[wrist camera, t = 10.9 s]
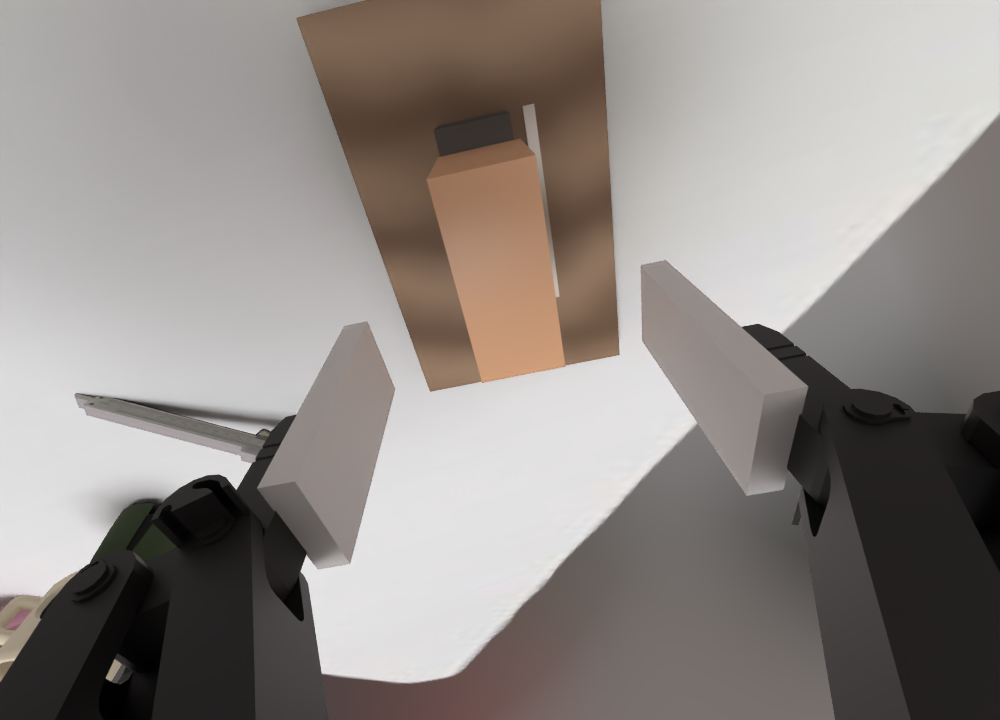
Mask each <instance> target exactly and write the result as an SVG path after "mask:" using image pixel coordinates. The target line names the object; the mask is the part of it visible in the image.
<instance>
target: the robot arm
mask: <svg viewBox="0 0 1000 720" xmlns="http://www.w3.org/2000/svg"><path fill="white" fill-rule="evenodd" d="M641 302H642V341H643V343H644V344H645V346H646V347H647V349H648V350H649V352H650V353H651V355H652V356H653V358H654V359H655V360H656V362H657V363H658V365H659V366H660V368H661V369H662V371H663V372H664V374H665V375H666V377H667V378H668V380H669V381H670V383H671V384H672V386H673V387H674V389H675V390H676V392H677V393H678V395H679V396H680V398H681V399H682V401H683V402H684V403H685V405H686V406H687V408H688V409H689V411H690V412H691V414H692V415H693V417H694V418H695V420H696V421H697V423H698V424H699V426H700V427H701V429H702V430H703V432H704V433H705V435H706V436H707V438H708V439H709V440H710V442H711V444H712V445H713V446H714V448H715V449H716V451H717V452H718V454H719V455H720V457H721V458H722V460H723V461H724V463H725V464H726V466H727V467H728V469H729V470H730V471H731V473H732V474H733V476H734V478H735V479H736V481H737V482H738V484H739V485H740V487H741V488H742V489H743V491H744V492H745V494H746V495H747V496H748V495H754V494H760V493H766V492H772V491H777V490H782V489H784V485H785V481H786V477H787V473H788V470H789V471H790V472H791V473H792V475H793V476H794V477H795V478H796V480H797V481H798V482H799V483H800V484H801V489H800V492H799V496H798V499H797V503H796V507H795V510H794V514H793V520H792V524H793V525H798V524H799V521H800V518H801V519H802V525H803V531H804V537H805V542H806V549H807V554H808V561H809V566H810V573H811V579H812V585H813V591H814V596H815V602H816V608H817V614H818V620H819V626H820V631H821V638H822V644H823V650H824V656H825V661H826V668H827V673H828V680H829V685H830V692H831V698H832V703H833V709H834V715H835V720H1000V391H997V392H990V393H984V394H982V395H980V396H979V397H977V398H976V399H974V400H973V402H972V404H971V406H970V408H969V410H968V412H967V414H948V413H920V412H915V411H914V410H913V409H912V408H911V407H910V406H909V405H907V404H905V403H904V402H902V401H900V400H899V399H897V398H895V397H892V396H889V395H886V394H884V393H881V392H876V391H870V390H864V389H850V388H849V387H848V386H846V385H845V384H844V383H843V382H841V381H840V380H839V379H838V378H836V377H835V376H834V375H832V374H831V373H830V372H829V371H827V370H826V369H825V368H824V367H822V366H821V365H820V364H819V363H817V362H816V361H815V360H814V359H812V358H811V357H810V356H806V353H805V352H804V351H802V350H801V349H800V348H798V347H797V346H794V344H793V343H792V342H791V341H789V340H788V339H787V338H786V337H784V336H783V335H782V334H781V333H780V332H778V331H775V330H772V329H770V328H767V327H765V326H762V325H760V324H755V325H749V326H744V327H741V326H739V325H738V324H737V323H736V322H735V321H734V320H733V319H731V318H730V317H729V316H728V315H727V314H726V313H725V312H724V311H722V310H721V309H720V308H719V307H718V306H717V305H716V304H715V303H713V302H712V301H711V300H710V299H709V298H708V297H707V296H706V295H704V294H703V293H702V292H701V291H700V290H699V289H698V288H696V287H695V286H694V285H693V284H692V283H691V282H690V281H689V280H687V279H686V278H685V277H684V276H683V275H682V274H681V273H680V272H678V271H677V270H676V269H675V268H674V267H673V266H672V265H671V264H669V263H668V262H667V261H666V260H664V261H659V262H654V263H649V264H645V265H641ZM394 391H395V387H394V385H393V383H392V380H391V378H390V375H389V373H388V371H387V368H386V366H385V363H384V361H383V358H382V356H381V354H380V351H379V349H378V346H377V344H376V341H375V339H374V337H373V334H372V332H371V329H370V327H369V324H368V322H362V323H358V324H353V325H348V326H344V328H343V330H342V332H341V333H340V335H339V337H338V339H337V341H336V343H335V345H334V346H333V348H332V350H331V352H330V354H329V356H328V358H327V359H326V361H325V363H324V365H323V367H322V369H321V371H320V372H319V374H318V376H317V378H316V380H315V382H314V384H313V385H312V387H311V389H310V391H309V393H308V395H307V397H306V398H305V400H304V402H303V404H302V406H301V408H300V409H299V411H298V413H297V415H293V416H288V417H286V418H284V419H283V420H282V421H281V422H280V423H279V424H278V425H277V426H276V427H275V428H274V429H273V430H272V431H271V432H270V434H269V436H268V438H267V439H266V441H265V443H264V444H263V446H262V447H263V449H260V451H259V453H258V455H257V456H256V458H255V462H253V463H252V465H251V466H250V468H249V470H248V472H247V473H246V475H245V477H244V478H243V480H242V482H241V483H240V485H239V487H238V489H237V490H235V488H234V487H233V486H232V485H231V483H230V482H229V481H228V479H227V478H226V477H223V476H221V475H208V476H205V477H202V478H199V479H196V480H193V481H192V482H190V483H188V484H186V485H184V486H183V487H181V488H179V489H178V490H177V491H175V492H174V493H173V494H172V495H170V496H169V497H168V498H167V499H166V500H165V501H164V502H163V503H162V504H161V505H160V506H159V507H158V509H157V510H156V511H155V513H154V515H153V518H152V520H151V522H152V523H153V524H154V525H155V526H156V527H157V528H158V529H159V530H160V531H161V532H162V533H163V534H164V535H165V536H166V537H167V538H168V539H169V540H170V541H171V542H172V543H173V544H174V545H175V546H176V547H177V548H174V549H172V550H170V551H168V552H165V553H163V554H161V555H158V556H156V557H154V558H151V559H149V560H147V561H143V560H142V559H141V558H140V557H139V556H138V555H137V554H135V553H134V552H133V551H129V550H126V549H124V550H119V551H113V552H111V553H109V554H107V555H104V556H102V557H100V558H98V559H96V560H94V561H93V562H91V563H90V564H89V565H86V566H85V567H84V568H82V569H81V570H80V571H79V572H78V573H77V574H76V575H75V576H74V577H72V578H71V579H70V580H69V581H68V582H67V583H66V584H65V586H64V587H63V588H62V589H61V591H60V592H59V593H58V594H57V595H56V597H55V599H54V600H53V602H52V603H51V605H50V606H49V608H48V609H47V611H46V612H45V614H44V616H43V617H42V619H41V620H40V622H39V623H38V625H37V626H36V628H35V629H34V631H33V633H32V634H31V636H30V637H29V639H28V640H27V642H26V643H25V645H24V646H23V648H22V649H21V651H20V653H19V654H18V656H17V657H16V659H15V660H14V662H13V663H12V665H11V666H10V668H9V670H8V671H7V673H6V674H5V676H4V677H3V679H2V680H1V682H0V720H328V714H327V707H326V701H325V694H324V687H323V681H322V674H321V667H320V661H319V654H318V647H317V641H316V634H315V627H314V621H313V614H312V607H311V601H310V594H309V588H308V583H307V581H306V579H305V577H304V575H303V574H302V573H301V572H300V571H301V568H302V565H303V562H304V560H305V557H306V555H307V556H308V557H309V559H310V560H311V561H312V563H313V564H314V565H315V567H316V568H317V569H323V568H328V567H334V566H340V565H346V564H350V562H351V558H352V555H353V551H354V547H355V543H356V539H357V535H358V531H359V527H360V524H361V520H362V516H363V512H364V508H365V504H366V500H367V496H368V492H369V489H370V485H371V481H372V477H373V473H374V469H375V465H376V461H377V457H378V454H379V450H380V446H381V442H382V438H383V434H384V430H385V426H386V423H387V419H388V415H389V411H390V407H391V403H392V399H393V395H394ZM114 659H115V660H117V661H118V662H120V663H121V664H123V665H124V666H126V668H125V670H124V673H123V675H122V677H121V678H120V680H119V681H118V683H117V684H116V683H112V682H111V681H109V680H108V679H106V677H107V674H108V672H109V670H110V668H111V666H112V664H113V661H114Z"/></svg>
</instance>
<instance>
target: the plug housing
mask: <svg viewBox="0 0 1000 720" xmlns="http://www.w3.org/2000/svg"><path fill="white" fill-rule="evenodd" d="M427 183H428V187H429V191H430V194H431V198H432V201H433V205H434V209H435V212H436V216H437V220H438V223H439V227H440V231H441V234H442V238H443V242H444V245H445V249H446V253H447V256H448V260H449V264H450V267H451V271H452V275H453V278H454V282H455V286H456V289H457V293H458V297H459V300H460V304H461V308H462V311H463V315H464V319H465V322H466V326H467V330H468V333H469V337H470V341H471V344H472V348H473V352H474V355H475V359H476V362H477V366H478V370H479V373H480V377H481V381H482V383H483V382H489V381H494V380H499V379H504V378H509V377H514V376H519V375H525V374H530V373H535V372H540V371H545V370H550V369H555V368H561V367H565V361H564V353H563V346H562V339H561V332H560V325H559V317H558V310H557V303H556V296H555V289H554V281H553V274H552V267H551V260H550V253H549V245H548V238H547V231H546V224H545V217H544V209H543V202H542V195H541V188H540V181H539V173H538V166H537V159H536V155H535V154H534V152H533V151H532V150H531V149H530V148H529V147H528V146H527V145H526V144H525V143H524V142H523V141H522V140H521V139H516V140H511V141H507V142H503V143H498V144H494V145H489V146H485V147H481V148H476V149H472V150H467V151H463V152H459V153H454V154H450V155H446V156H441V157H438V158H437V160H436V162H435V164H434V166H433V168H432V170H431V172H430V174H429V176H428V178H427Z"/></svg>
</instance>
